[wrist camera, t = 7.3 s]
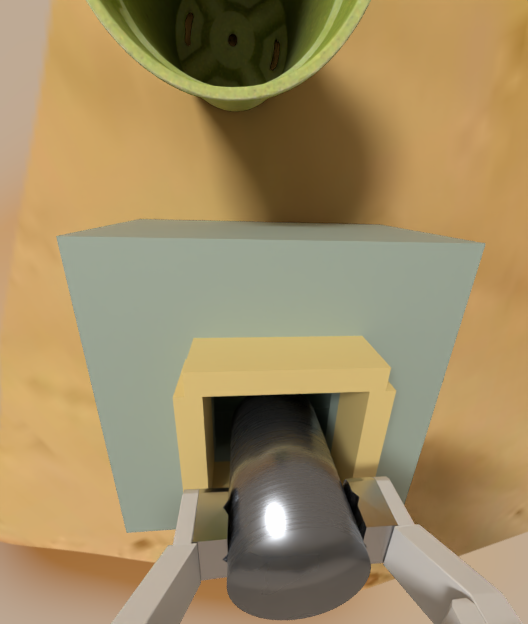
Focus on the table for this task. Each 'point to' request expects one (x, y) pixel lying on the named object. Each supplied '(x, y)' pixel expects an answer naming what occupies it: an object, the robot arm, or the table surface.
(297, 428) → the cylinder
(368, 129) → the table surface
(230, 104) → the plant pot
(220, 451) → the box with square opening
